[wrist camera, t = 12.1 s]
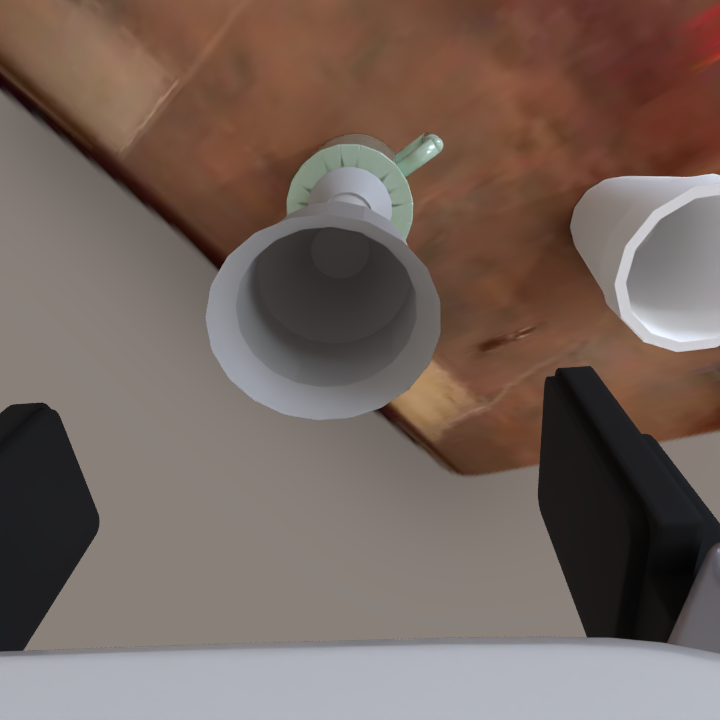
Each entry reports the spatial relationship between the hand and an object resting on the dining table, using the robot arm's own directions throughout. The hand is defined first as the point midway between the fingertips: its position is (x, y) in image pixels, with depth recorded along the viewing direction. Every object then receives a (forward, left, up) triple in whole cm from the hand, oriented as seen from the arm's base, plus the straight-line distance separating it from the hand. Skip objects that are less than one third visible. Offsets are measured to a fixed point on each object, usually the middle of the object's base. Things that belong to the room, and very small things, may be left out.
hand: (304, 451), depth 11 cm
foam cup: (+4, +19, -34) cm, 39 cm away
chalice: (0, 0, -25) cm, 25 cm away
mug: (0, +1, -33) cm, 34 cm away
